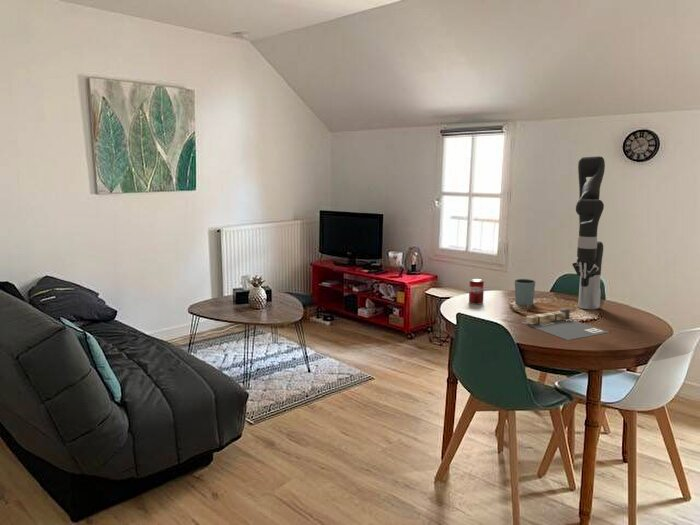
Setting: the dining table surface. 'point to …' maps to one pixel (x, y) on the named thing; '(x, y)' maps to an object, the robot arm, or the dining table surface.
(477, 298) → the soda can
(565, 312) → the swing arm
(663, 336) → the dining table surface
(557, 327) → the label mat
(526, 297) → the teal cup
